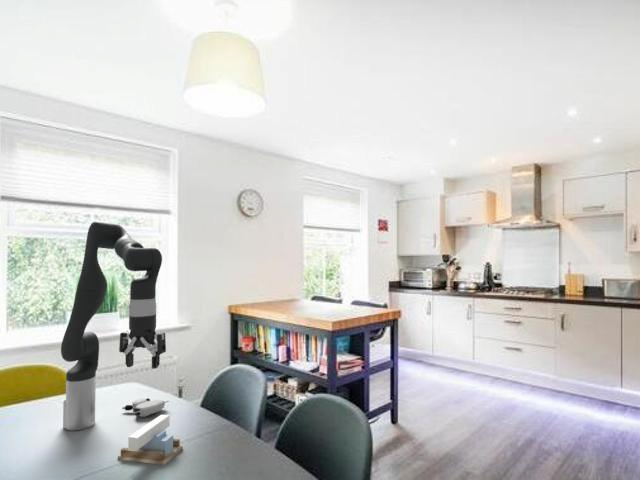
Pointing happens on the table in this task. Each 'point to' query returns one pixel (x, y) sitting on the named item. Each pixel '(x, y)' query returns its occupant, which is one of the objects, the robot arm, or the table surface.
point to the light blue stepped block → (160, 443)
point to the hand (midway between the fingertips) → (142, 367)
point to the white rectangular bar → (148, 432)
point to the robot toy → (145, 406)
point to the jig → (150, 454)
